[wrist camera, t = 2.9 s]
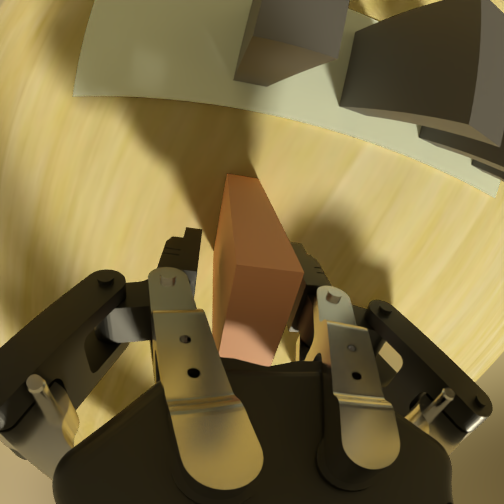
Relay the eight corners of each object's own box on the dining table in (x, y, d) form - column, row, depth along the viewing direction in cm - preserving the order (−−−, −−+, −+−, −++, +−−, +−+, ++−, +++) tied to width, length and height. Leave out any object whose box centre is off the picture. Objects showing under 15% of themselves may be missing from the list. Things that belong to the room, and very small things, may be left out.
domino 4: (450, 82, 14) (570, 102, 5) (436, 146, 16) (554, 197, 7) (432, 71, 13) (558, 82, 4) (418, 137, 15) (543, 185, 7)
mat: (512, 116, 15) (515, 116, 15) (492, 197, 18) (495, 198, 18) (104, -22, 9) (102, -23, 9) (74, 96, 13) (72, 96, 12)
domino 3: (381, 43, 12) (512, 22, 4) (365, 115, 15) (499, 147, 6) (354, 31, 12) (480, -9, 3) (339, 106, 14) (468, 124, 6)
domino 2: (258, 178, 16) (304, 272, 8) (241, 255, 19) (262, 386, 10) (227, 173, 16) (236, 264, 7) (213, 251, 18) (212, 384, 10)
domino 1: (284, 9, 11) (362, -83, 3) (266, 86, 14) (337, 58, 5) (252, 1, 11) (293, -106, 2) (233, 80, 13) (253, 35, 5)
